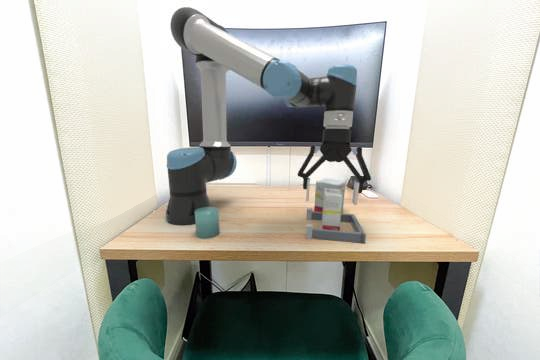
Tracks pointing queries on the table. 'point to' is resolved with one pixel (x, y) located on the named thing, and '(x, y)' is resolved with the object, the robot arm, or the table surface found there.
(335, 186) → the ink box
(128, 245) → the table surface
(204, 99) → the robot arm
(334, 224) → the ink box
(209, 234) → the teal rounded cylinder
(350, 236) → the u-shaped handle bar
